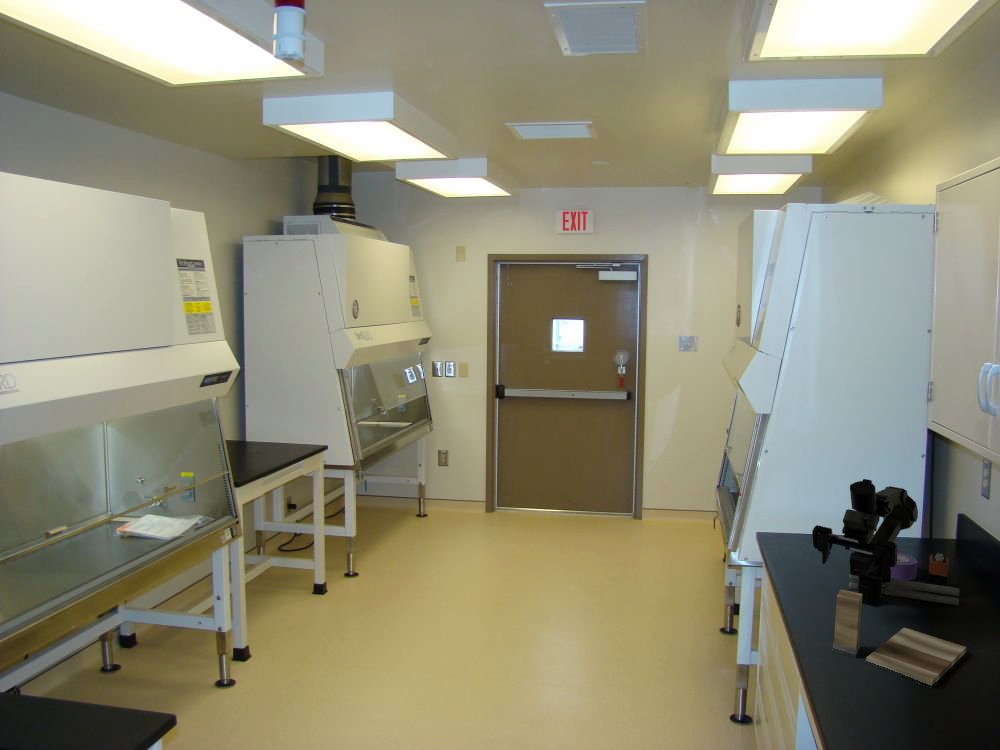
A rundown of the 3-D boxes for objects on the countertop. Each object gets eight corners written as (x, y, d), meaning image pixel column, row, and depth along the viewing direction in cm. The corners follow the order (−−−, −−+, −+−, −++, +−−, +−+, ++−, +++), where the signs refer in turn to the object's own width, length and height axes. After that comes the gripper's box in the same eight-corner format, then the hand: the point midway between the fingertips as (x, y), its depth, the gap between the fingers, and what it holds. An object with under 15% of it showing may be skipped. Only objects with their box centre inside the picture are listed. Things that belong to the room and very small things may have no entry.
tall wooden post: (836, 643, 173) (839, 589, 171) (859, 649, 170) (863, 593, 168) (832, 651, 169) (836, 596, 167) (855, 657, 166) (859, 601, 164)
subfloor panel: (903, 633, 178) (904, 627, 178) (965, 653, 169) (966, 647, 168) (865, 664, 163) (866, 657, 163) (931, 687, 154) (932, 680, 154)
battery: (927, 593, 202) (929, 557, 201) (927, 585, 208) (930, 550, 206) (945, 597, 200) (948, 561, 198) (946, 589, 205) (949, 553, 204)
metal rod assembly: (957, 604, 196) (958, 585, 195) (958, 608, 193) (960, 589, 193) (848, 587, 206) (849, 569, 206) (848, 591, 204) (849, 573, 203)
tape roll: (905, 567, 222) (906, 550, 221) (923, 582, 210) (925, 565, 210) (863, 565, 223) (864, 548, 222) (879, 580, 211) (880, 563, 211)
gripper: (821, 493, 190) (800, 531, 180) (903, 509, 178) (886, 551, 168) (823, 528, 195) (803, 567, 185) (903, 546, 183) (886, 588, 173)
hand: (843, 567), depth 178 cm, fingers open, 9 cm apart
